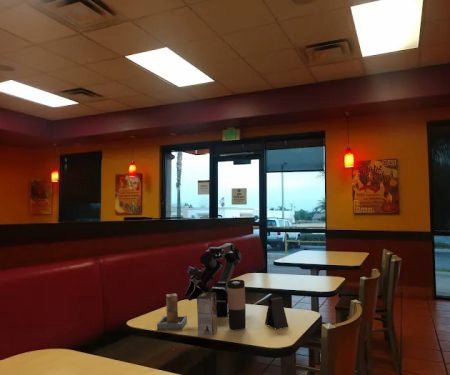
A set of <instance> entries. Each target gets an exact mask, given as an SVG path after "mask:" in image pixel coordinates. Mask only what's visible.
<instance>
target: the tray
mask: <svg viewBox="0 0 450 375" xmlns="http://www.w3.org/2000/svg"><path fill="white" fill-rule="evenodd" d="M187 322H188V316H186V315H185V316H183V315H182V316H181V315H178V323H167V315H164V316H162V318H160V320H159V321H158V322H157V324H156V330H160V331H161V330H162V331H163V330H164V331H165V330H170V331H171V330H173V331H176V330H178V331H179V330H180V331H182V330H183V329H184V328H185V326H186V324H187Z"/></svg>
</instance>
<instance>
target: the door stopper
mask: <svg viewBox="0 0 450 375" xmlns="http://www.w3.org/2000/svg"><path fill="white" fill-rule="evenodd" d="M267 304H268V305H267V311H266V316H265V321H264V324H265V326H268V325H269V327H270V326H271V328H273V329H275V328H276V329H275V330H280V328H281V329H285V328H288V327H289V323H288V320H287V316H286V311H285V307H284V299H283V297H282V296H278V297H273V298H272V297H271V298H268V300H267ZM284 327H285V328H284Z"/></svg>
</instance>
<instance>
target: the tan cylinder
mask: <svg viewBox="0 0 450 375" xmlns="http://www.w3.org/2000/svg"><path fill="white" fill-rule="evenodd" d="M165 298H166V300H165V302H166V316H167V323H178V316H179V309H178V304H179V303H178V294H177V293H170V294H169V293H167V294H165Z"/></svg>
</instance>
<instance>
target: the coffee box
mask: <svg viewBox="0 0 450 375" xmlns="http://www.w3.org/2000/svg"><path fill="white" fill-rule="evenodd" d="M196 307H197V308H196V311H197V312H196V313H197V314H196V315H197V337H203V338H204V337H206V338H209V337H210V338H213V336H214V335H215V333H216V332H217V331H218V317H217V305H216V292H211V291H208V292H202V293H201V294H200V295H199V296H198V297H197V298H196Z"/></svg>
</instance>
